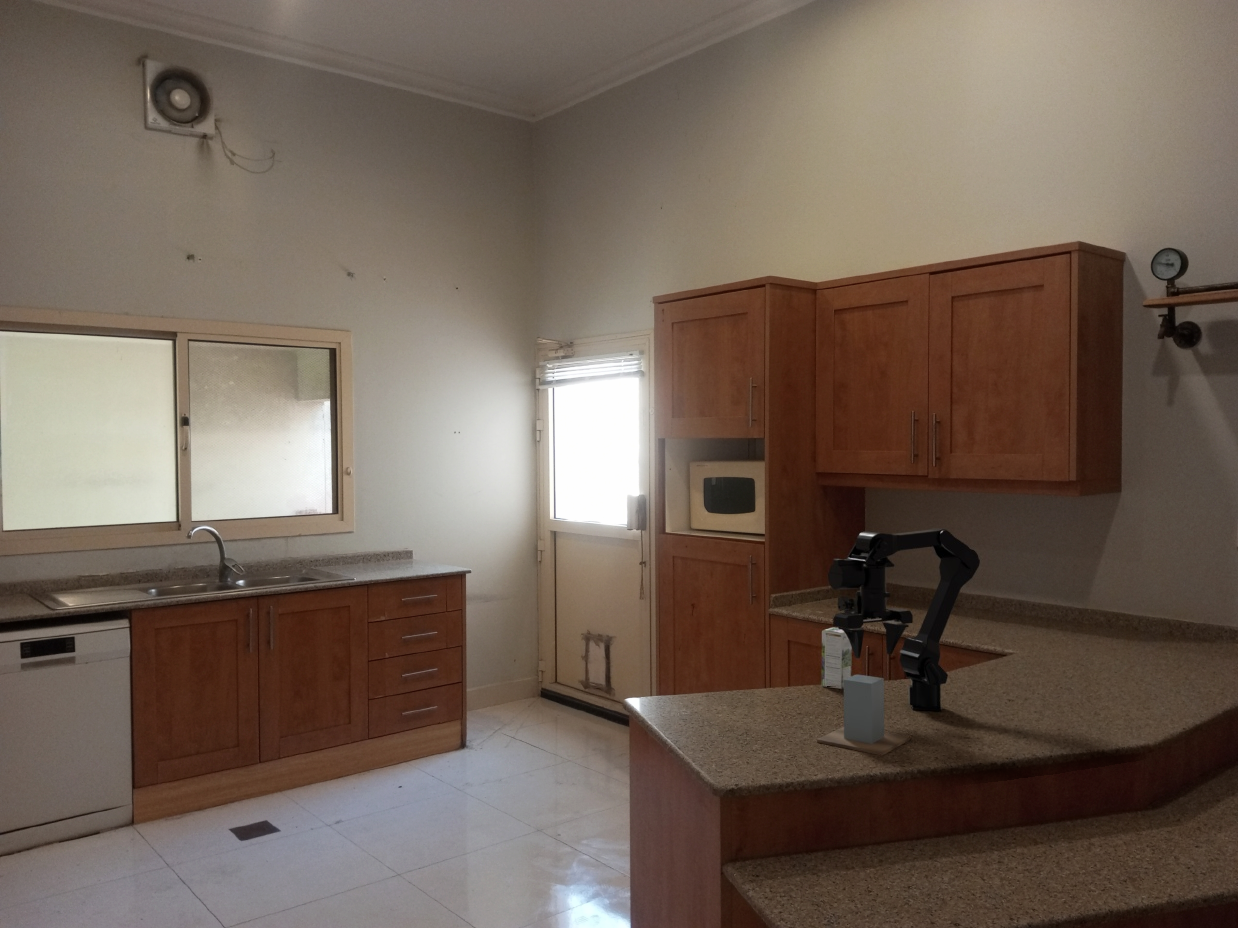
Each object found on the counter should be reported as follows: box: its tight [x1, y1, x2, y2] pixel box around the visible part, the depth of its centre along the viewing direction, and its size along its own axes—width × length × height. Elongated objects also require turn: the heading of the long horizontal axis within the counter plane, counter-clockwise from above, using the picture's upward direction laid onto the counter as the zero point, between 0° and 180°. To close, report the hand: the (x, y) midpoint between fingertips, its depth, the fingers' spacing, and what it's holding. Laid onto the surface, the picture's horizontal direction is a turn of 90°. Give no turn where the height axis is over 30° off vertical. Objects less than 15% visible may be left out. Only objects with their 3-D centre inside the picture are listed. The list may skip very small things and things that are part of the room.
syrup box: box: [820, 627, 853, 690], centre depth 237 cm, size 6×6×14 cm
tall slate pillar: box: [843, 674, 885, 744], centre depth 189 cm, size 6×6×12 cm
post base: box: [816, 726, 912, 756], centre depth 189 cm, size 14×14×5 cm
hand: (873, 656), depth 209 cm, fingers open, 9 cm apart
